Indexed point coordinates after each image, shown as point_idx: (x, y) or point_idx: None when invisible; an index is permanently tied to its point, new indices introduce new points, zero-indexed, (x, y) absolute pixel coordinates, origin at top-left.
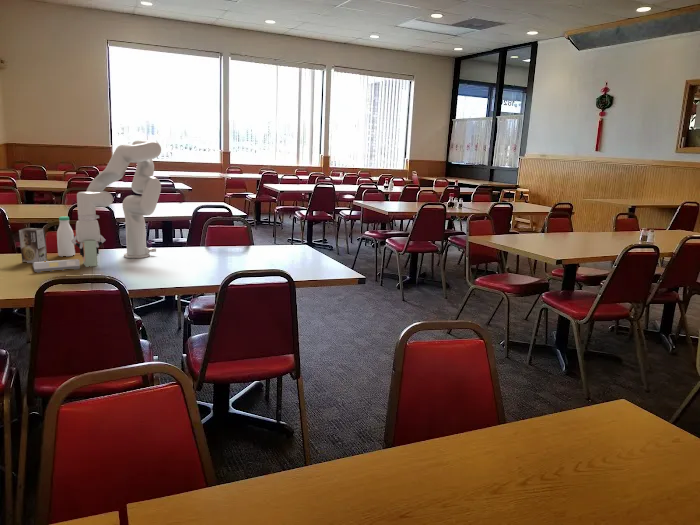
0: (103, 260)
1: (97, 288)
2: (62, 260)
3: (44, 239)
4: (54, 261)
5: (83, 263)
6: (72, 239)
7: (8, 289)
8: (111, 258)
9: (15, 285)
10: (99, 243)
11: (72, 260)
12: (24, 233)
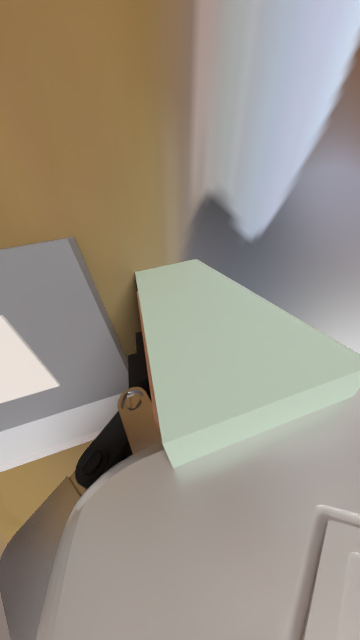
0: (250, 191)
1: None
2: (56, 449)
3: None
4: (17, 464)
5: (135, 272)
6: (8, 613)
7: (14, 533)
8: (314, 114)
9: (8, 520)
10: None
11: None
12: None
